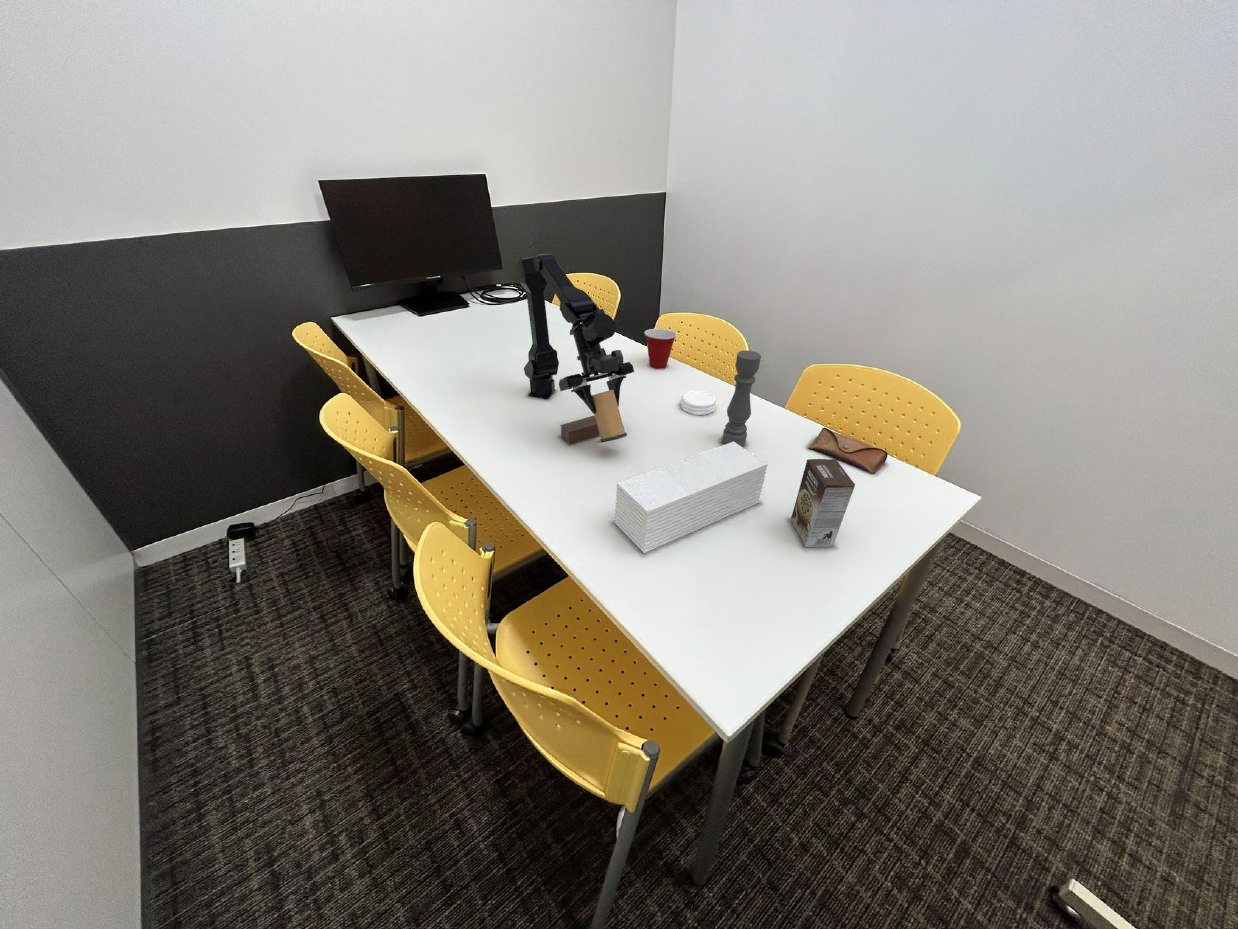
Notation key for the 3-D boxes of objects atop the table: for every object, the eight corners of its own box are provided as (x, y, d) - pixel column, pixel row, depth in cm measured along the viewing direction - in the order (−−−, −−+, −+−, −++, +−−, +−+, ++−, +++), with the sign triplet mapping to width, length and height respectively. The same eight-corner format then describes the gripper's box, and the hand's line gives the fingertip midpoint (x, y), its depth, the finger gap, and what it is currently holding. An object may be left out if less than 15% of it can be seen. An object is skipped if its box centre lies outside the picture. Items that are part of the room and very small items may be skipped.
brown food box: (789, 519, 117) (805, 458, 108) (817, 518, 117) (836, 457, 108) (804, 548, 109) (824, 484, 100) (834, 547, 110) (856, 484, 101)
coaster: (673, 407, 158) (675, 396, 156) (693, 396, 164) (695, 386, 163) (701, 419, 153) (702, 408, 151) (720, 407, 159) (722, 397, 157)
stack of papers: (643, 553, 106) (647, 511, 100) (615, 523, 114) (616, 482, 108) (758, 503, 121) (767, 463, 115) (726, 479, 129) (733, 441, 122)
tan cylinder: (580, 423, 138) (586, 383, 129) (602, 417, 141) (609, 378, 132) (606, 455, 131) (613, 415, 122) (628, 448, 134) (637, 409, 125)
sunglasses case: (806, 447, 141) (817, 423, 140) (812, 449, 147) (823, 427, 146) (875, 474, 132) (887, 449, 130) (879, 476, 137) (890, 452, 136)
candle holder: (746, 439, 144) (763, 352, 130) (743, 450, 139) (760, 361, 125) (723, 435, 146) (738, 348, 132) (719, 446, 141) (734, 357, 127)
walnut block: (560, 436, 142) (560, 424, 140) (605, 423, 149) (605, 411, 147) (569, 444, 139) (568, 432, 137) (614, 430, 146) (614, 418, 144)
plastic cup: (674, 360, 187) (677, 327, 181) (673, 373, 178) (677, 338, 172) (643, 358, 188) (645, 325, 181) (641, 370, 179) (643, 336, 172)
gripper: (568, 347, 118) (587, 415, 120) (637, 333, 127) (654, 397, 129) (550, 358, 128) (567, 420, 130) (615, 344, 137) (631, 403, 139)
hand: (606, 410), depth 132 cm, fingers closed on tan cylinder, 6 cm apart
